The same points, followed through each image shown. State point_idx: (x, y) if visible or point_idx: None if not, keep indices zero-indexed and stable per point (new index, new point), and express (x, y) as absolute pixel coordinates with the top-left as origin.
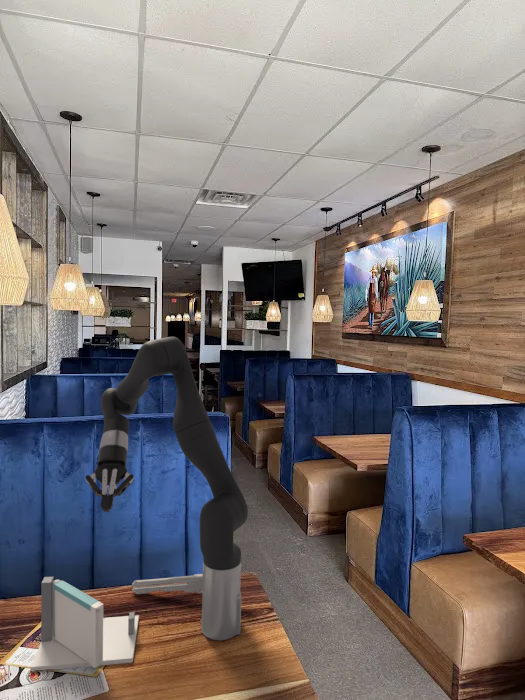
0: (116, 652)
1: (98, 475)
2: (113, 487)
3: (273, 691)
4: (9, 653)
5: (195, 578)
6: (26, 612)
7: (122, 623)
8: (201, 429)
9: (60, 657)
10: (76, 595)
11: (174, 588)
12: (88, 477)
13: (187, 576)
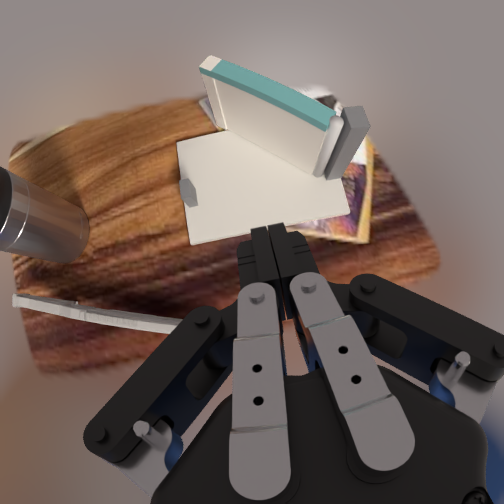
0: (203, 149)
1: (431, 403)
2: (246, 330)
3: (32, 140)
4: (371, 150)
5: (83, 309)
6: (405, 248)
7: (214, 217)
8: None
9: None
10: (264, 80)
11: (133, 314)
12: (494, 344)
13: (99, 320)
